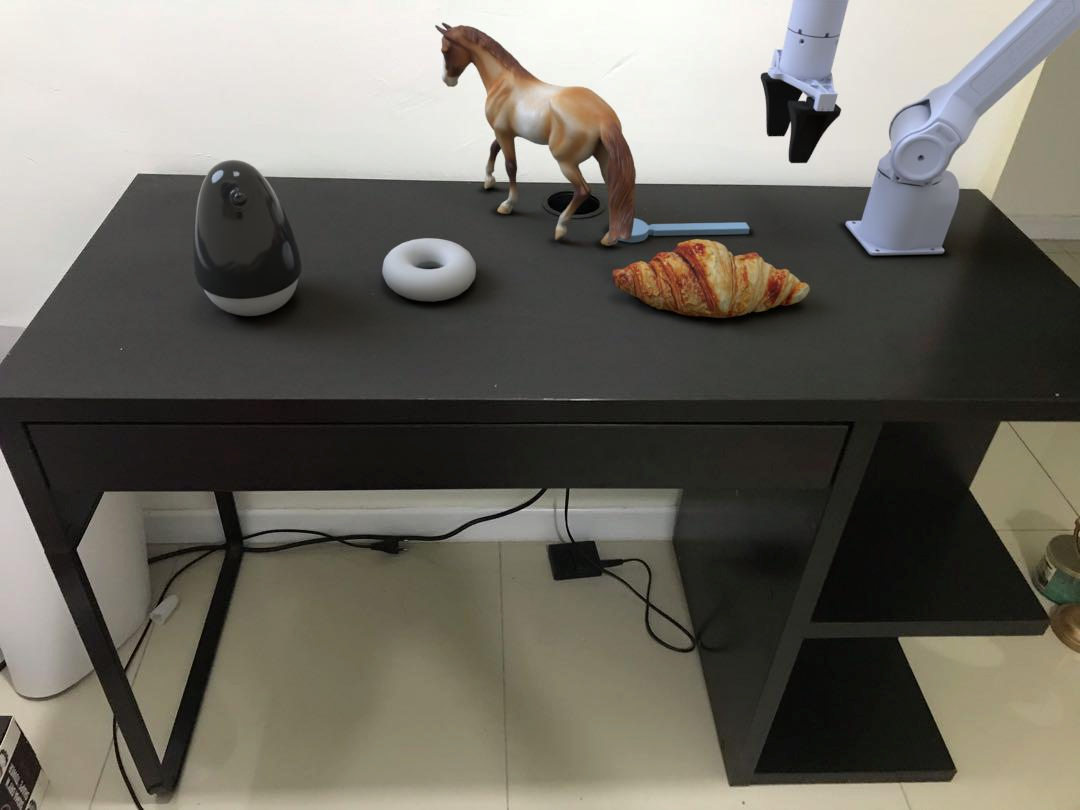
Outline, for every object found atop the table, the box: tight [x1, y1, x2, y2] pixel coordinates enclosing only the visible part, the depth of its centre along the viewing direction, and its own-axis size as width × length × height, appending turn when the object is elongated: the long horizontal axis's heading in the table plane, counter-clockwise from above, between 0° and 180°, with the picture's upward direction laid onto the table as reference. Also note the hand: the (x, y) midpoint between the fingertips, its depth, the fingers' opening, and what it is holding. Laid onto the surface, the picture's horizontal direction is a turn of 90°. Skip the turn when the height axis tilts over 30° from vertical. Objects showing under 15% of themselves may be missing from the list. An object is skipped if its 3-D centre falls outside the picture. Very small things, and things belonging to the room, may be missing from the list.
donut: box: [381, 237, 477, 302], centre depth 97 cm, size 10×4×10 cm
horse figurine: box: [434, 22, 637, 247], centre depth 103 cm, size 31×8×21 cm, turn 45°
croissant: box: [612, 238, 811, 319], centre depth 96 cm, size 21×10×8 cm, turn 92°
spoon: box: [618, 217, 751, 244], centre depth 110 cm, size 17×5×1 cm, turn 98°
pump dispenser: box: [192, 159, 303, 317], centre depth 89 cm, size 10×10×15 cm
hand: (786, 148), depth 108 cm, fingers open, 7 cm apart
